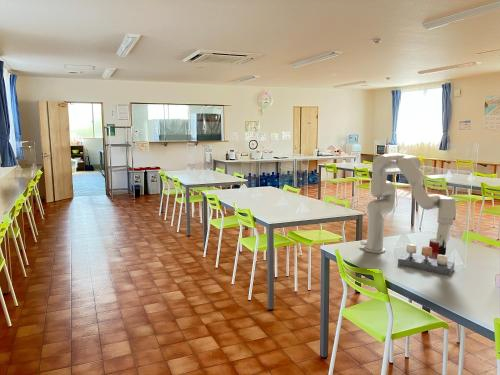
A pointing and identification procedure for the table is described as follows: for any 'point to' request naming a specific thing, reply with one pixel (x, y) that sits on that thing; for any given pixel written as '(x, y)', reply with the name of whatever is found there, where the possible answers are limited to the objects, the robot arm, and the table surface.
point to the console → (425, 264)
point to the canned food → (434, 248)
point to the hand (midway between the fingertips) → (441, 254)
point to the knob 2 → (442, 259)
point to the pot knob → (426, 252)
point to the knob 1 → (411, 249)
